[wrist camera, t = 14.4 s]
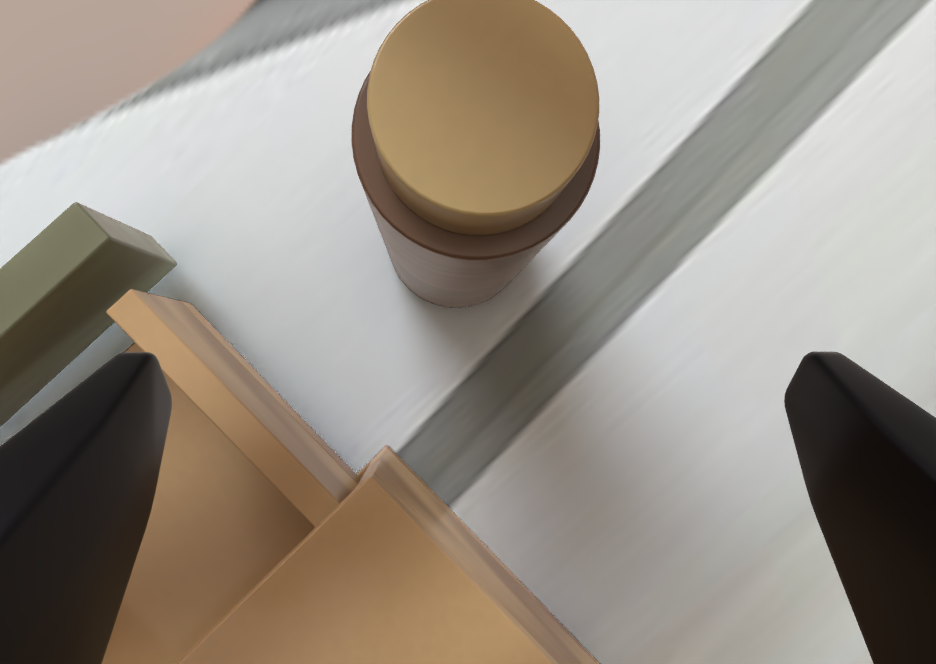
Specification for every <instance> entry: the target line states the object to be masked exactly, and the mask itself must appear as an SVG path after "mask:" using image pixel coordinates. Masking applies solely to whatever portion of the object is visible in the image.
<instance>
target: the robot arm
mask: <svg viewBox="0 0 936 664" xmlns="http://www.w3.org/2000/svg"><path fill="white" fill-rule="evenodd" d="M784 402H785V409H786V413H787V417H788V420H789V424H790V428H791V432H792V435H793V439H794V443H795V447H796V450H797V454H798V458H799V462H800V465H801V469H802V473H803V477H804V480H805V484H806V488H807V491H808V494H809V498H810V501H811V504H812V506H813V509H814V512H815V515H816V518H817V520H818V523H819V525H820V528H821V530H822V533H823V535H824V538H825V541H826V543H827V546H828V548H829V551H830V553H831V556H832V558H833V561H834V564H835V566H836V569H837V571H838V574H839V576H840V579H841V581H842V584H843V587H844V589H845V592H846V594H847V597H848V599H849V602H850V604H851V607H852V610H853V612H854V615H855V617H856V620H857V622H858V625H859V627H860V630H861V633H862V635H863V638H864V640H865V643H866V645H867V648H868V650H869V653H870V656H871V658H872V661H873V663H874V664H936V418H935V417H934V416H932V415H931V414H929V413H928V412H926V411H925V410H923V409H922V408H921V407H919V406H918V405H916V404H915V403H913V402H912V401H910V400H909V399H907V398H906V397H904V396H903V395H901V394H900V393H899V392H897V391H896V390H894V389H893V388H891V387H890V386H888V385H887V384H885V383H884V382H882V381H881V380H879V379H878V378H877V377H875V376H874V375H872V374H871V373H869V372H868V371H866V370H865V369H863V368H862V367H860V366H859V365H857V364H856V363H855V362H853V361H852V360H850V359H849V358H847V357H846V356H844V355H842V354H841V353H838V352H810V353H808V354H807V355H806V356H804V358H803V359H802V361H801V363H800V365H799V367H798V369H797V370H796V372H795V374H794V376H793V378H792V380H791V382H790V384H789V386H788V388H787V390H786V393H785V400H784ZM171 410H172V397H171V392H170V390H169V387H168V384H167V382H166V379H165V377H164V374H163V371H162V369H161V366H160V364H159V361H158V359H157V357H156V356H155V355H154V354H153V353H150V352H123V353H120V354H118V355H116V356H115V357H114V358H112V359H111V360H110V361H109V362H107V363H106V364H105V365H103V366H102V367H101V368H100V369H98V370H97V371H96V372H95V373H93V374H92V375H91V376H89V377H88V378H87V379H86V380H84V381H83V382H82V383H81V384H79V385H78V386H77V387H76V388H74V389H73V390H72V391H70V392H69V393H68V394H67V395H65V396H64V397H63V398H62V399H60V400H59V401H58V402H56V403H55V404H54V405H53V406H51V407H50V408H49V409H48V410H46V411H45V412H44V413H42V414H41V415H40V416H39V417H37V418H36V419H35V420H34V421H32V422H31V423H30V424H28V425H27V426H26V427H25V428H23V429H22V430H21V431H20V432H18V433H17V434H16V435H14V436H13V437H12V438H11V439H9V440H8V441H7V442H6V443H4V444H3V445H2V446H0V664H102V661H103V658H104V655H105V652H106V649H107V646H108V643H109V640H110V637H111V634H112V631H113V628H114V625H115V622H116V618H117V615H118V612H119V609H120V606H121V603H122V600H123V597H124V594H125V591H126V588H127V585H128V582H129V579H130V576H131V573H132V570H133V566H134V563H135V560H136V557H137V554H138V551H139V548H140V545H141V542H142V539H143V536H144V533H145V530H146V527H147V523H148V520H149V517H150V513H151V510H152V505H153V501H154V496H155V492H156V487H157V482H158V477H159V472H160V466H161V461H162V456H163V451H164V446H165V441H166V436H167V431H168V426H169V421H170V416H171Z"/></svg>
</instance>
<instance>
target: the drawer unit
mask: <svg viewBox="0 0 936 664" xmlns="http://www.w3.org/2000/svg"><path fill="white" fill-rule="evenodd" d="M356 475H357V476H358V477H359V478H360V479H361V480H360V481H359V483H358V485H357V486H356V488H355V489H354V490H353V491H352V492H351V493H350V494H349V495H348V496H347V497H346V498H345V499H344V500H343V501H342V502H341V503H340V504H339V505H338V506H337V507H336V508H335V509H334V510H333V511H332V512H331V513H330V514H329V515H328V516H327V517H326V518H325V519H323V520H322V521H321V522H320V523H319V524H318V525H317V526H316V527H315V528H314V529H313V530H312V531H311V532H310V533H309V534H308V535H307V536H306V537H305V538H304V539H303V540H302V541H301V542H300V543H299V544H298V545H297V546H296V547H295V548H294V549H293V550H292V551H291V552H290V553H289V554H288V555H287V556H286V557H285V558H283V559H282V560H281V561H280V562H279V563H278V564H277V565H276V566H275V567H274V568H273V569H272V570H271V571H270V572H269V573H268V574H267V575H266V576H265V577H264V578H263V579H262V580H261V581H260V582H259V583H258V584H257V585H256V586H255V587H254V588H253V589H252V590H251V591H250V592H249V593H248V594H247V595H246V596H245V597H244V598H242V599H241V600H240V601H239V602H238V603H237V604H236V605H235V606H234V607H233V608H232V609H231V610H230V611H229V612H228V613H227V614H226V615H225V616H224V617H223V618H222V619H221V620H220V621H219V622H218V623H217V624H216V625H215V626H214V627H213V628H212V629H211V630H210V631H209V632H208V633H207V634H206V635H205V636H204V637H202V638H201V639H200V640H199V641H198V642H197V643H196V644H195V645H194V646H193V647H192V648H191V649H190V650H189V651H188V652H187V653H186V654H185V655H184V656H183V657H182V658H181V659H180V660H179V661H178V662H177V663H176V664H600V663H599V662H598V661H597V660H596V659H595V658H594V657H593V656H592V655H591V654H590V653H589V652H588V651H587V650H586V649H585V648H584V646H583V645H582V644H581V643H580V642H579V641H578V640H577V639H576V638H575V637H574V636H573V635H572V634H571V633H570V632H569V631H568V630H567V629H566V628H565V627H564V626H563V625H562V624H561V623H560V622H559V621H558V620H557V619H556V618H555V617H554V616H553V615H552V613H551V612H550V611H549V610H548V609H547V608H546V607H545V606H544V605H543V604H542V603H541V602H540V601H539V600H538V599H537V598H536V597H535V596H534V595H533V594H532V593H531V592H530V591H529V590H528V589H527V588H526V587H525V586H524V585H523V584H522V583H521V582H520V580H519V579H518V578H517V577H516V576H515V575H514V574H513V573H512V572H511V571H510V570H509V569H508V568H507V567H506V566H505V565H504V564H503V563H502V562H501V561H500V560H499V559H498V558H497V557H496V556H495V555H494V554H493V553H492V552H491V551H490V550H489V549H488V547H487V546H486V545H485V544H484V543H483V542H482V541H481V540H480V539H479V538H478V537H477V536H476V535H475V534H474V533H473V532H472V531H471V530H470V529H469V528H468V527H467V526H466V525H465V524H464V523H463V522H462V521H461V520H460V519H459V518H458V517H457V515H456V514H455V513H454V512H453V511H452V510H451V509H450V508H449V507H448V506H447V505H446V504H445V503H444V502H443V501H442V500H441V499H440V498H439V497H438V496H437V495H436V494H435V493H434V492H433V491H432V490H431V489H430V488H429V487H428V486H427V485H426V484H425V482H424V481H423V480H422V479H421V478H420V477H419V476H418V475H417V474H416V473H415V472H414V471H413V470H412V469H411V468H410V467H409V466H408V465H407V464H406V463H405V462H404V461H403V460H402V459H401V458H400V457H399V456H398V455H397V454H396V453H395V452H394V451H393V449H392V448H391V447H390V446H388V445H387V446H385V447H384V448H383V449H382V450H381V451H380V452H379V453H378V454H377V455H376V456H375V457H374V458H373V459H372V460H371V461H370V462H369V463H368V464H366V465H365V466H364V467H363V468H362V469H361V470H360V471H359V472H358V473H357V474H356Z"/></svg>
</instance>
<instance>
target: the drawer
mask: <svg viewBox="0 0 936 664" xmlns="http://www.w3.org/2000/svg"><path fill="white" fill-rule="evenodd" d="M176 265H177V263H176V261H175V260H174V259H173V258H172V257H171V256H170V255H169V254H168V253H167V252H166V251H165V250H164V249H163V248H162V247H161V246H160V245H159V244H158V243H157V242H156V240H155V239H154V238H153V237H152V236H150V235H148V234H146V233H143V232H141V231H139V230H137V229H135V228H132V227H130V226H128V225H126V224H123V223H121V222H119V221H117V220H115V219H112V218H110V217H108V216H106V215H104V214H101V213H99V212H97V211H95V210H93V209H90V208H88V207H86V206H84V205H82V204H79V203H77V202H76V203H73V204H72V205H71V206H70V207H69V208H68V209H67V210H66V211H64V212H63V213H62V214H61V215H60V216H59V217H58V218H57V219H55V220H54V221H53V222H52V223H51V224H50V225H49V226H48V227H47V228H45V229H44V230H43V231H42V232H41V233H40V234H39V235H38V236H36V237H35V238H34V239H33V240H32V241H31V242H30V243H29V244H28V245H26V246H25V247H24V248H23V249H22V250H21V251H20V252H19V253H17V254H16V255H15V256H14V257H13V258H12V259H11V260H10V261H9V262H7V263H6V264H5V265H4V266H3V267H2V268H1V269H0V427H1V426H2V425H3V424H4V423H5V422H6V421H7V420H8V419H9V418H11V417H12V416H13V415H14V414H15V413H16V412H17V411H18V410H19V409H20V408H21V407H23V406H24V405H25V404H26V403H27V402H28V401H29V400H30V399H31V398H32V397H33V396H35V395H36V394H37V393H38V392H39V391H40V390H41V389H42V388H43V387H44V386H45V385H47V384H48V383H49V382H50V381H51V380H52V379H53V378H54V377H55V376H56V375H57V374H58V373H60V372H61V371H62V370H63V369H64V368H65V367H66V366H67V365H68V364H69V363H70V362H72V361H73V360H74V359H75V358H76V357H77V356H78V355H79V354H80V353H81V352H82V351H84V350H85V349H86V348H87V347H88V346H89V345H90V344H91V343H92V342H93V341H94V340H96V339H97V338H98V337H99V336H100V335H101V334H102V333H103V332H104V331H105V330H106V329H108V328H109V327H110V326H111V325H112V324H113V323H114V322H116V323H117V324H118V325H119V326H120V327H121V328H122V330H123V331H124V332H125V333H126V334H127V335H128V336H129V337H130V338H131V339H132V340H133V341H134V342H135V343H134V344H132V345H131V346H130V347H129V348H128V349H127V350H126V351H125V352H150V353H153V354H154V355H155V356H156V357H157V359H158V361H159V364H160V366H161V369H162V371H163V374H164V377H165V379H166V382H167V384H168V387H169V390H170V392H171V397H172V410H171V416H170V421H169V426H168V431H167V436H166V441H165V446H164V451H163V456H162V461H161V466H160V472H159V477H158V482H157V487H156V492H155V496H154V501H153V505H152V510H151V513H150V517H149V520H148V523H147V527H146V530H145V533H144V536H143V539H142V542H141V545H140V548H139V551H138V554H137V557H136V560H135V563H134V566H133V570H132V573H131V576H130V579H129V582H128V585H127V588H126V591H125V594H124V597H123V600H122V603H121V606H120V609H119V612H118V615H117V618H116V622H115V625H114V628H113V631H112V634H111V637H110V640H109V643H108V646H107V649H106V652H105V655H104V658H103V661H102V664H176V663H177V662H178V661H179V660H180V659H181V658H182V657H183V656H184V655H185V654H186V653H187V652H188V651H189V650H190V649H191V648H192V647H193V646H194V645H195V644H196V643H197V642H198V641H199V640H200V639H201V638H202V637H204V636H205V635H206V634H207V633H208V632H209V631H210V630H211V629H212V628H213V627H214V626H215V625H216V624H217V623H218V622H219V621H220V620H221V619H222V618H223V617H224V616H225V615H226V614H227V613H228V612H229V611H230V610H231V609H232V608H233V607H234V606H235V605H236V604H237V603H238V602H239V601H240V600H241V599H242V598H244V597H245V596H246V595H247V594H248V593H249V592H250V591H251V590H252V589H253V588H254V587H255V586H256V585H257V584H258V583H259V582H260V581H261V580H262V579H263V578H264V577H265V576H266V575H267V574H268V573H269V572H270V571H271V570H272V569H273V568H274V567H275V566H276V565H277V564H278V563H279V562H280V561H281V560H282V559H283V558H285V557H286V556H287V555H288V554H289V553H290V552H291V551H292V550H293V549H294V548H295V547H296V546H297V545H298V544H299V543H300V542H301V541H302V540H303V539H304V538H305V537H306V536H307V535H308V534H309V533H310V532H311V531H312V530H313V529H314V528H315V527H316V526H317V525H318V524H319V523H320V522H321V521H322V520H323V519H325V518H326V517H327V516H328V515H329V514H330V513H331V512H332V511H333V510H334V509H335V508H336V507H337V506H338V505H339V504H340V503H341V502H342V501H343V500H344V499H345V498H346V497H347V496H348V495H349V494H350V493H351V492H352V491H353V490H354V489H355V488H356V486H357V485H358V483H359V481H360V480H361V479H360V478H359V477H358V476H357V475H356V474H355V472H354V471H353V470H352V469H351V468H350V467H349V466H348V465H347V464H346V463H345V462H344V461H343V460H342V459H341V458H340V457H339V456H338V455H337V454H336V453H335V452H334V451H333V450H332V449H331V448H330V447H329V446H328V445H327V444H326V443H325V442H324V441H323V439H322V438H321V437H320V436H319V435H318V434H317V433H316V432H315V431H314V430H313V429H312V428H311V427H310V426H309V425H308V424H307V423H306V422H305V421H304V420H303V419H302V418H301V417H300V416H299V415H298V414H297V413H296V412H295V411H294V410H293V409H292V408H291V407H290V405H289V404H288V403H287V402H286V401H285V400H284V399H283V398H282V397H281V396H280V395H279V394H278V393H277V392H276V391H275V390H274V389H273V388H272V387H271V386H270V385H269V384H268V383H267V382H266V381H265V380H264V379H263V378H262V377H261V376H260V375H259V374H258V372H257V371H256V370H255V369H254V368H253V367H252V366H251V365H250V364H249V363H248V362H247V361H246V360H245V359H244V358H243V357H242V356H241V355H240V354H239V353H238V352H237V351H236V350H235V349H234V348H233V347H232V346H231V345H230V344H229V343H228V342H227V341H226V340H225V338H224V337H223V336H222V335H221V334H220V333H219V332H218V331H217V330H216V329H215V328H214V327H213V326H212V325H211V324H210V323H209V322H208V321H207V320H206V319H205V318H204V317H203V316H202V315H201V314H200V313H199V312H198V311H197V310H196V309H195V308H194V307H193V305H192V304H190V303H187V302H182V301H178V300H174V299H170V298H166V297H162V296H158V295H154V294H150V293H147V292H148V291H149V290H150V289H151V288H152V287H153V286H154V285H156V284H157V283H158V282H159V281H160V280H161V279H162V278H163V277H164V276H165V275H166V274H168V273H169V272H170V271H171V270H172V269H173V268H174V267H175V266H176Z"/></svg>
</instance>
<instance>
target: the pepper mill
mask: <svg viewBox="0 0 936 664" xmlns="http://www.w3.org/2000/svg"><path fill="white" fill-rule="evenodd" d="M598 118H599V92H598V85H597V80H596V76H595V73H594V69H593V66H592V64H591V61H590V59H589V57H588V54H587V52H586V51H585V49H584V47H583V45H582V44H581V42H580V40H579V39H578V38H577V36H576V35H575V34H574V32H573V31H572V30H571V28H570V27H569V26H568V25H567V24H566V23H565V22H564V21H563V20H562V19H561V18H560V17H558V16H557V15H556V14H555V13H553V12H552V11H551V10H550V9H548V8H547V7H545V6H543V5H542V4H540V3H538V2H537V1H535V0H428V1H426V2H424V3H422V4H420V5H419V6H417V7H416V8H415V9H413V10H412V11H410V12H409V13H408V14H407V15H406V16H404V17H403V18H402V19H401V20H400V21H399V22H398V23H397V24H396V25H395V26H394V28H393V29H392V30H391V31H390V33H389V34H388V35H387V37H386V38H385V40H384V42H383V43H382V45H381V46H380V48H379V50H378V53H377V55H376V57H375V59H374V62H373V65H372V69H371V71H370V72H369V74H368V76H367V77H366V79H365V81H364V83H363V86H362V88H361V90H360V92H359V95H358V98H357V102H356V105H355V109H354V114H353V121H352V149H353V158H354V162H355V166H356V169H357V173H358V176H359V179H360V181H361V184H362V186H363V189H364V191H365V194H366V197H367V199H368V202H369V204H370V207H371V209H372V212H373V215H374V217H375V220H376V222H377V225H378V228H379V230H380V233H381V235H382V238H383V240H384V243H385V246H386V248H387V251H388V253H389V256H390V258H391V261H392V263H393V266H394V268H395V270H396V272H397V274H398V276H399V277H400V278H401V280H402V281H403V282H404V284H405V285H406V286H407V287H408V288H409V289H410V290H411V291H413V292H414V293H415V294H416V295H418V296H419V297H421V298H423V299H424V300H426V301H429V302H431V303H434V304H437V305H441V306H446V307H467V306H472V305H476V304H479V303H482V302H484V301H486V300H488V299H490V298H492V297H493V296H495V295H496V294H497V293H499V292H500V291H501V290H502V289H503V288H504V287H505V286H506V285H507V284H508V283H509V282H510V281H511V280H512V279H513V278H514V277H515V276H516V275H517V274H518V273H519V272H520V271H521V270H522V269H523V268H524V267H525V266H526V265H527V264H528V263H529V262H530V261H531V260H532V259H533V257H534V256H535V255H536V254H537V253H538V252H539V251H540V250H541V249H542V248H543V247H544V246H545V245H546V244H547V243H548V242H549V241H550V240H551V239H552V238H553V237H554V236H555V235H556V234H557V233H558V232H559V231H560V230H561V229H562V228H563V227H564V226H565V225H566V223H567V222H568V221H569V220H570V219H571V218H572V217H573V215H574V214H575V213H576V211H577V210H578V209H579V208H580V206H581V204H582V203H583V201H584V199H585V197H586V196H587V194H588V192H589V189H590V187H591V185H592V182H593V180H594V177H595V173H596V169H597V165H598V159H599V152H600V129H599V121H598Z"/></svg>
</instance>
